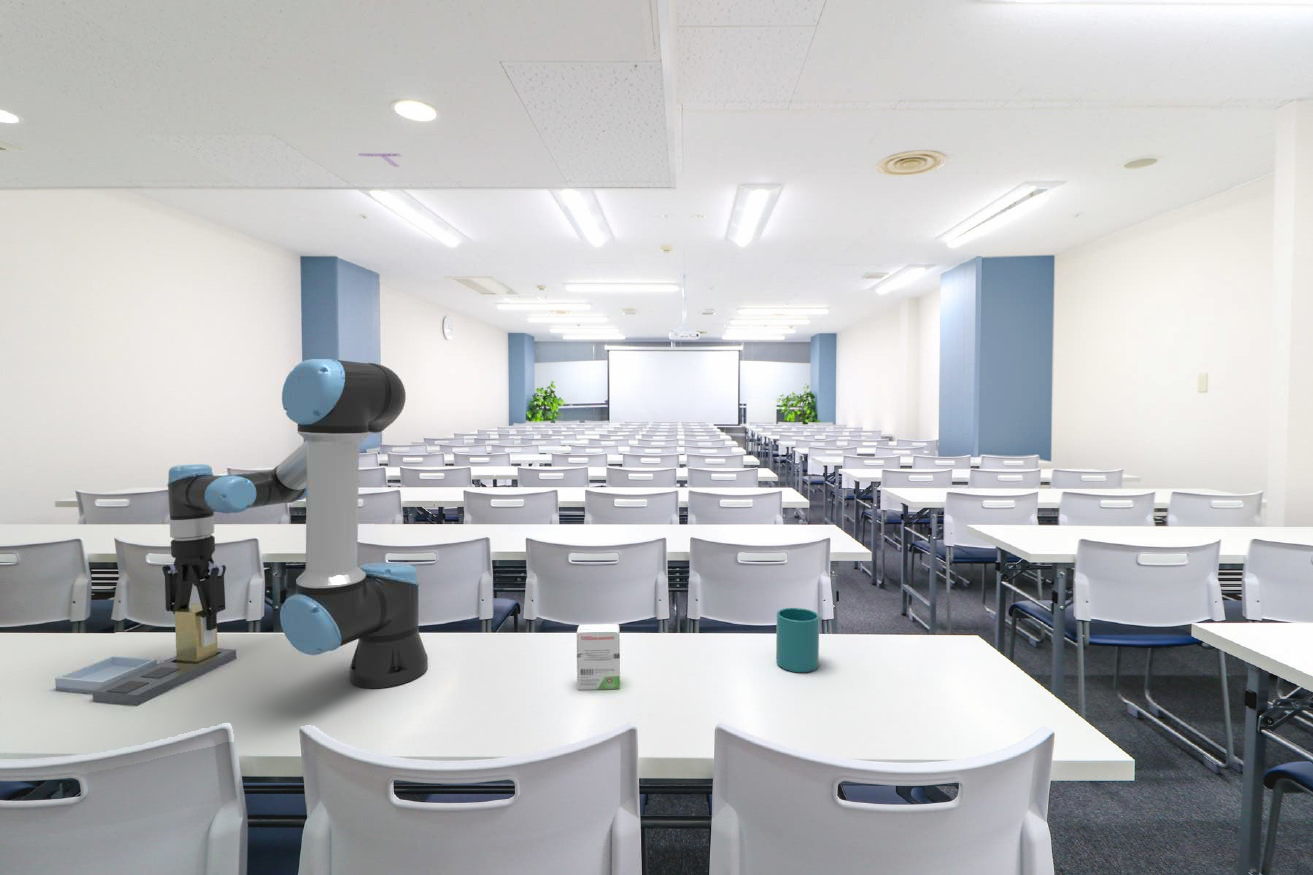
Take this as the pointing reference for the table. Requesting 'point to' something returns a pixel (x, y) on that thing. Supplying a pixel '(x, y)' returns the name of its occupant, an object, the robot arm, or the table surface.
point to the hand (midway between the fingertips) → (197, 643)
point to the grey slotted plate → (158, 679)
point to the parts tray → (101, 674)
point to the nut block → (191, 636)
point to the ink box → (598, 657)
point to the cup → (797, 639)
